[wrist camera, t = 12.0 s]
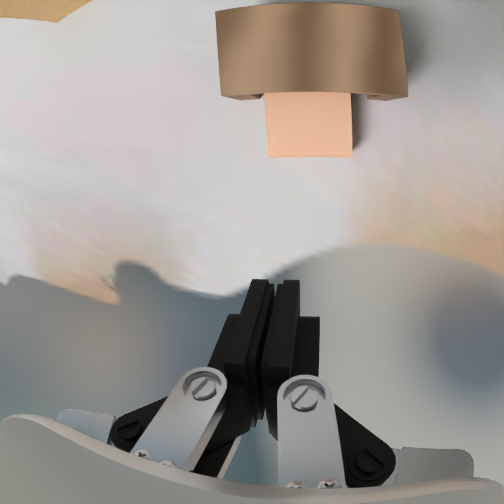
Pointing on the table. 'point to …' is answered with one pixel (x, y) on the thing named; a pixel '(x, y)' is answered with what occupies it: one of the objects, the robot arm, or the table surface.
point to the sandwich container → (39, 9)
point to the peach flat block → (309, 124)
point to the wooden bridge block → (311, 50)
